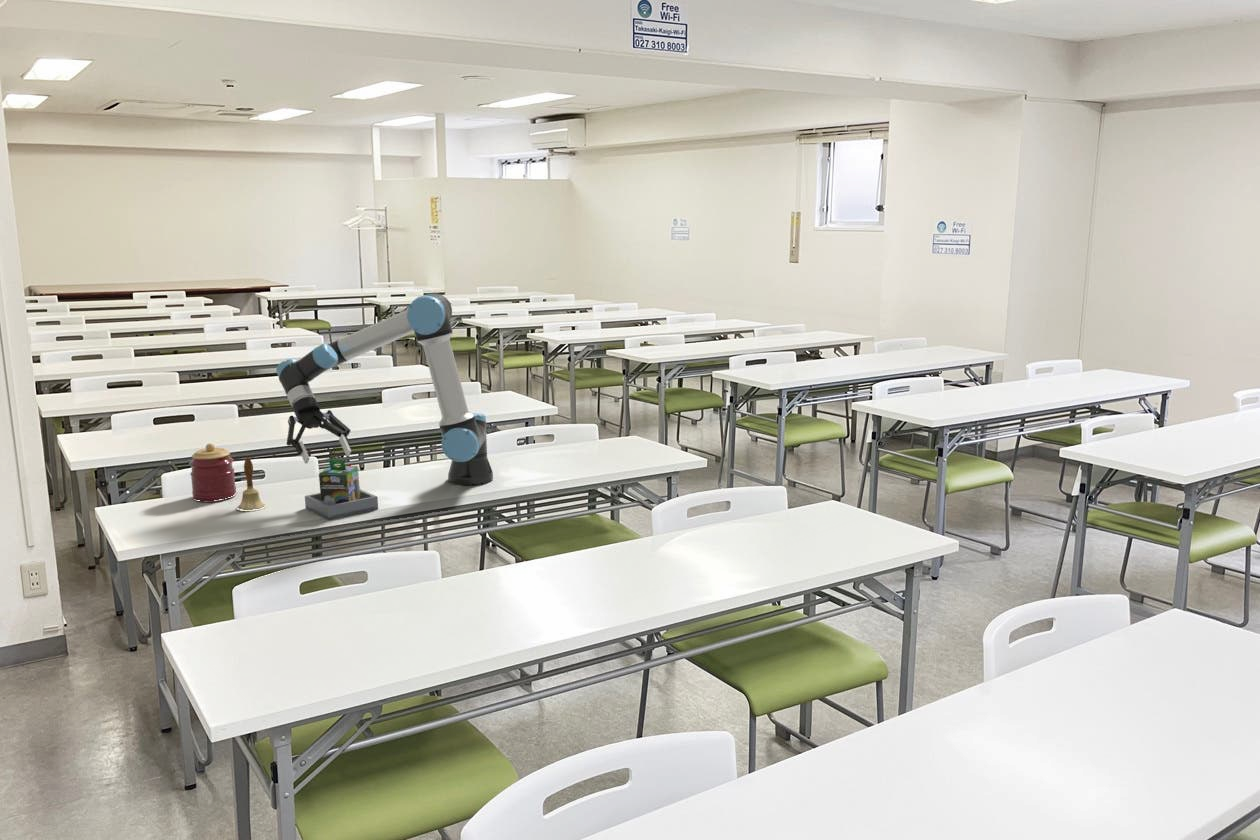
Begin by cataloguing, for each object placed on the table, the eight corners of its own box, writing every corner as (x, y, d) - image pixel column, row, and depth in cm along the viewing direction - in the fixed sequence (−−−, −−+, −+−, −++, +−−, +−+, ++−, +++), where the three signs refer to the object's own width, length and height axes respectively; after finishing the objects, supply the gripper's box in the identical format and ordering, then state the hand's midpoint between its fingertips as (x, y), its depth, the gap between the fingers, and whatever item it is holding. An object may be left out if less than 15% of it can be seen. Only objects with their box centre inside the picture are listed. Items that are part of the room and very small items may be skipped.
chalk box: (361, 501, 301) (358, 455, 298) (349, 510, 292) (346, 462, 289) (332, 501, 302) (329, 454, 299) (320, 509, 293) (317, 462, 290)
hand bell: (271, 506, 301) (267, 456, 297) (251, 513, 293) (246, 462, 290) (251, 503, 304) (247, 453, 301) (231, 509, 297) (226, 459, 293)
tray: (353, 498, 308) (353, 486, 307) (378, 509, 297) (377, 496, 296) (305, 508, 298) (304, 495, 297) (328, 519, 286) (327, 506, 285)
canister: (224, 503, 304) (219, 448, 300) (184, 502, 304) (179, 448, 301) (243, 491, 316) (239, 439, 313) (205, 491, 317) (200, 438, 314)
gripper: (337, 404, 317) (362, 457, 309) (262, 415, 300) (286, 471, 292) (343, 390, 312) (369, 443, 304) (267, 400, 295) (292, 457, 287)
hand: (328, 457), depth 298 cm, fingers open, 13 cm apart
